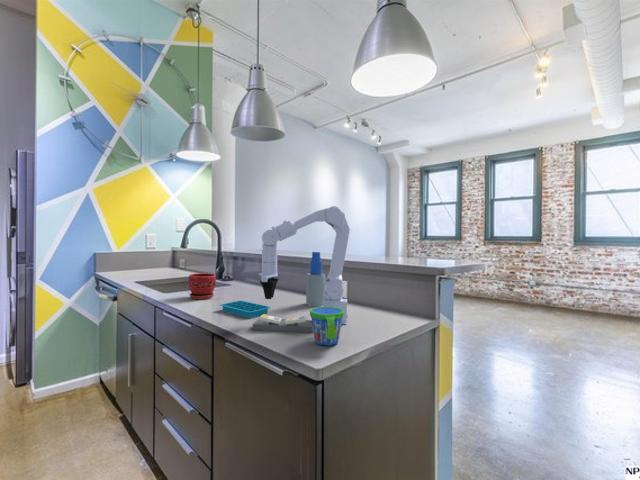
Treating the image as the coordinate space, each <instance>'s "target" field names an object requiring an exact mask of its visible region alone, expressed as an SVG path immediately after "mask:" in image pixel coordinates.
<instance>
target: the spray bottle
mask: <svg viewBox="0 0 640 480" xmlns="http://www.w3.org/2000/svg"><path fill="white" fill-rule="evenodd" d="M325 282H326V274H325V273H323V261H322V260H321V251H320V252H319V251H312V252H311V259H310V261H309V273H306V285H305V286H306V289H305V291H306V294H305V296H306V297H305V298H306V299H305V301H306V302H305V303H306V304H305V305H307V306H309V307H313V308H316V307H323V302H324V296H325V294H326V293H325V292H324V289H323V285H324V283H325Z"/></svg>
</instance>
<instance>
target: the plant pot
mask: <svg viewBox="0 0 640 480" xmlns="http://www.w3.org/2000/svg"><path fill="white" fill-rule="evenodd" d="M216 283H217V274H215V273H214V274H213V273H205V272H204V273H190V274H189V275H188V286H189V290H190V292H191V293H189V297H190V298H191V299H193V300H206V299H211V298H212V297H213V296H214V295H215V293H213V292H214V291H215V288H216V285H217V284H216Z"/></svg>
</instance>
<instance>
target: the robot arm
mask: <svg viewBox="0 0 640 480" xmlns="http://www.w3.org/2000/svg"><path fill="white" fill-rule="evenodd" d="M316 222H321V223H323V222H325V223H326V224H328V225H329V226H330V227H331V228H332V229H333V230H334V232H335V238H334V245H333V248H332V249H333V250H332V256H331V260H330V267H329V272H328V274H327V278H326V279H325V283H324V285H323V289H324V292H325V296H324V302H323V306H322V307H336V308H340V309H342V310H343V311H344V315H343V317H342V323H341V325H347V323H348V322H347V321H348V318H349V314H348V299H347V298H343V294H344V289H343V271H344V265H345V259H346V254H347V247H348V242H349V237H350V230H351V229H350V227H349V224H348V221H347V219H346V214H345V212H344V211H343V210H342V209H341V208H340V207H338V206H335V205H334V206H330V207H328V208H324V209H319V210H316V211H314V212H312V213H310V214H308V215H306V216H304V217H302V218H300V219H298V220H296V221H292V220H284V221H282V223H281V224H279V225H276V226H272V227H270V228H271V229H267V230H266V231H264V232H263V233H262V236H261V240H262V242H263V243H262V246H261V247H262V249H261V272H260V273H258V276H260V277H261V279H260V280H259V283H260V286H262V289H263V293H264V299H265V300H272V298H274V295H275V292H276V291H275V290H276V286H277V284H278V282H279V277H278V275H279V274H278V249H277V247H278V246H277V243H278V242H282V241H285V240H286V239H288V238H291V237H292V236H295V235H296V234H297V232H298V230H300V229H301V228H304V227H306V226H309V225H311V224H312V223H313V224H314V223H316Z"/></svg>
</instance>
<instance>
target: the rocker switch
mask: <svg viewBox="0 0 640 480" xmlns="http://www.w3.org/2000/svg"><path fill="white" fill-rule="evenodd" d="M286 319H287V320H286V321H285V325H286V324H292V323H299V322H305V321H306V320H308V319H307V315H304V316H298V317H291V318H286Z"/></svg>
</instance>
